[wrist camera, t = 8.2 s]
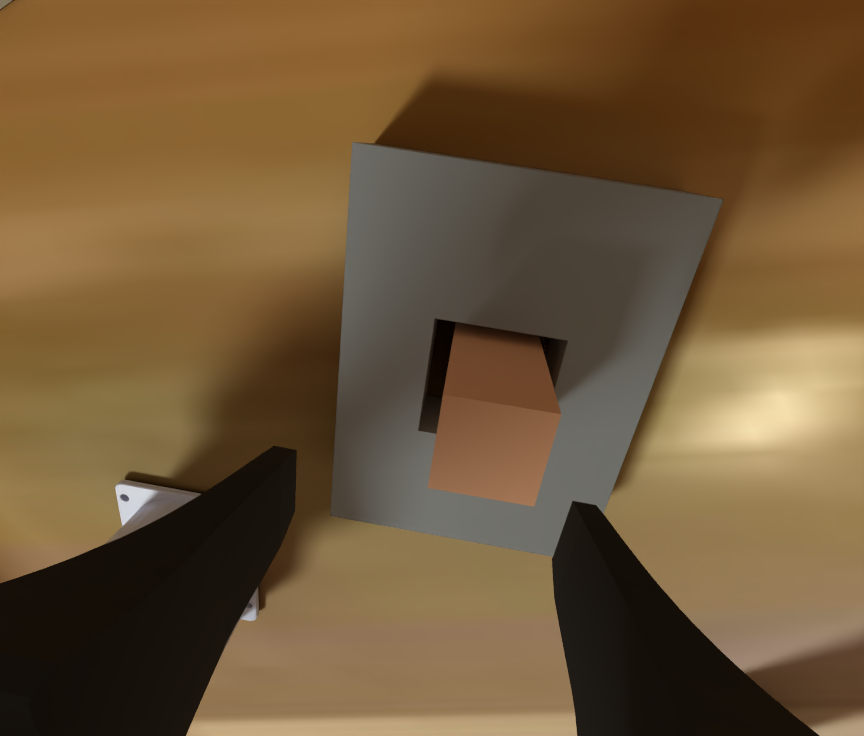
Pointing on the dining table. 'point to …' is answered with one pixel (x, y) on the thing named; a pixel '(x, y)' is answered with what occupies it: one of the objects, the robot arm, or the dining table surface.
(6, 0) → the skincare box
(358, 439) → the grey flat block
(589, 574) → the robot arm
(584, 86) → the dining table surface
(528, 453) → the rust peg
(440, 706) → the dining table surface
